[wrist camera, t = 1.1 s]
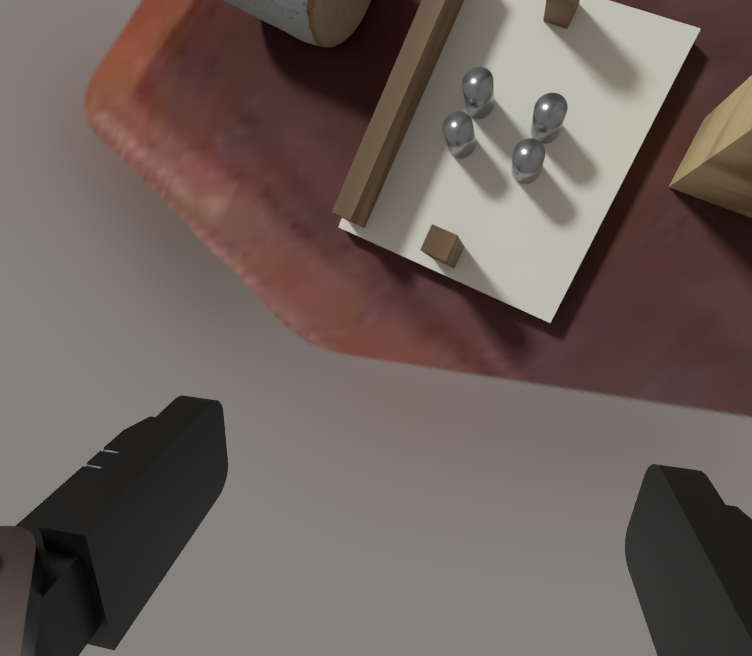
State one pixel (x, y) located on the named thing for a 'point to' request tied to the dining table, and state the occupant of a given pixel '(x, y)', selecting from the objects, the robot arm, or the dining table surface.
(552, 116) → the pegs
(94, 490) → the robot arm
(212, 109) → the dining table surface
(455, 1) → the walnut frame
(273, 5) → the ceramic mug
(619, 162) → the peg stand
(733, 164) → the oak block
